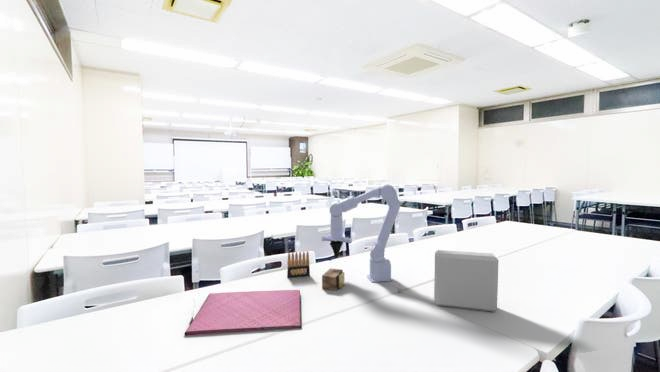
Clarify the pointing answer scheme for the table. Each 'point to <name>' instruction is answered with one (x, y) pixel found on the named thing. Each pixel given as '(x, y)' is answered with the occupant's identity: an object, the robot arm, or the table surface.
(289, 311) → the laptop bag
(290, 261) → the ammunition clip
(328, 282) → the collar block
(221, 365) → the table surface
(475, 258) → the bevelled white case
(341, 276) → the peg
